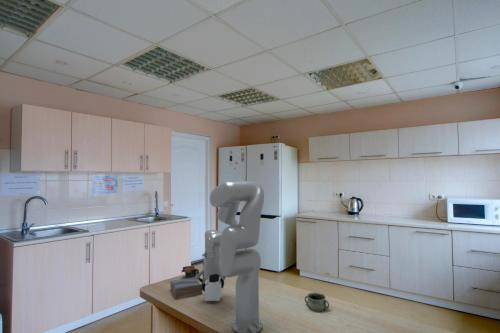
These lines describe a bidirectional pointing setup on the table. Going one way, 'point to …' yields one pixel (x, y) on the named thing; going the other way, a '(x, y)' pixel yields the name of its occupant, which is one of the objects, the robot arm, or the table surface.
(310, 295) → the vessel
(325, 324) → the table surface
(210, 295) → the medicine bottle
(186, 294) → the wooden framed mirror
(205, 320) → the table surface
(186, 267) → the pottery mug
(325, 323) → the table surface
